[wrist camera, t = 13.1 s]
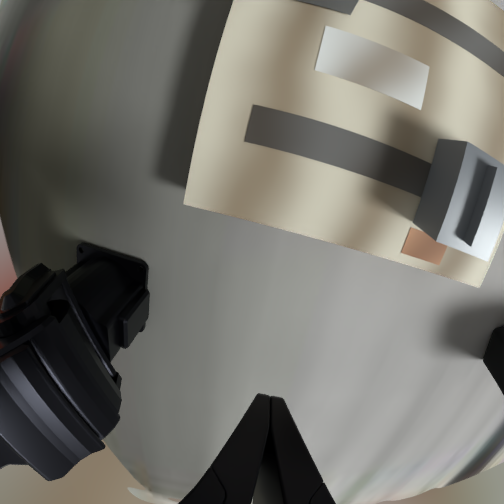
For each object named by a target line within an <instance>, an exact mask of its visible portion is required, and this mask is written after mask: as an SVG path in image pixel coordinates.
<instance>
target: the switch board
mask: <svg viewBox="0 0 504 504" xmlns="http://www.w3.org/2000/svg"><path fill="white" fill-rule="evenodd" d="M438 139H449V140H459V141H468V142H469V143H471V144H473V145H474V146H476V147H478V148H479V149H481V150H482V151H484V152H486V153H487V154H489V155H490V156H492V157H493V158H495V159H496V160H498V161H499V162H501V163H502V164H504V11H503V10H502V9H501V8H499V7H498V6H497V5H495V4H494V3H493V2H491V1H490V0H359V1H358V3H357V4H356V6H355V8H354V10H353V11H352V13H351V15H348V14H345V13H342V12H339V11H336V10H332V9H329V8H325V7H321V6H318V5H314V4H310V3H306V2H301V1H297V0H233V3H232V6H231V10H230V13H229V16H228V19H227V22H226V25H225V28H224V32H223V35H222V38H221V42H220V45H219V49H218V52H217V56H216V59H215V63H214V67H213V70H212V74H211V78H210V82H209V86H208V89H207V93H206V98H205V102H204V106H203V110H202V114H201V119H200V123H199V127H198V132H197V136H196V141H195V146H194V151H193V156H192V160H191V166H190V171H189V176H188V181H187V187H186V192H185V198H184V205H189V206H193V207H197V208H201V209H205V210H209V211H213V212H217V213H221V214H225V215H229V216H233V217H237V218H241V219H245V220H248V221H252V222H256V223H260V224H264V225H268V226H271V227H275V228H279V229H283V230H286V231H290V232H294V233H298V234H301V235H305V236H309V237H312V238H316V239H319V240H323V241H327V242H330V243H334V244H337V245H341V246H344V247H348V248H351V249H355V250H358V251H362V252H365V253H368V254H372V255H375V256H379V257H382V258H385V259H389V260H392V261H395V262H399V263H402V264H405V265H409V266H412V267H415V268H418V269H422V270H425V271H428V272H431V273H434V274H438V275H441V276H444V277H447V278H450V279H453V280H456V281H459V282H463V283H466V284H469V285H472V286H475V287H478V288H480V286H481V284H482V282H483V279H484V277H485V275H486V273H487V271H488V269H489V266H490V264H491V262H492V260H493V257H494V255H495V253H496V250H497V248H498V245H499V243H500V240H501V237H502V235H503V232H504V222H503V225H502V228H501V230H500V233H499V236H498V238H497V241H496V244H495V246H494V249H493V251H492V253H491V256H490V258H489V260H488V262H487V261H484V260H482V259H480V258H477V257H475V256H472V255H470V254H467V253H465V252H462V251H460V250H457V249H455V248H452V247H449V246H447V245H444V244H442V243H439V242H436V241H435V240H434V239H432V238H431V237H430V236H429V235H427V234H426V233H425V232H424V231H422V230H421V229H420V228H419V227H417V226H416V225H415V224H413V223H412V222H413V220H414V217H415V214H416V211H417V208H418V206H419V203H420V200H421V197H422V194H423V191H424V187H425V184H426V181H427V178H428V175H429V171H430V168H431V164H432V161H433V157H434V154H435V150H436V146H437V142H438Z"/></svg>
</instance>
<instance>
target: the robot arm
mask: <svg viewBox="0 0 504 504" xmlns="http://www.w3.org/2000/svg"><path fill="white" fill-rule="evenodd" d="M82 248H83V250H84V251H83V250H82ZM140 266H141V267H142V268H143V270H141V269H140ZM148 270H149V268H148V265H147V264H146V263H145V262H144V261H141V260H137V259H134V258H131V257H127V256H124V255H121V254H118V253H114V252H111V251H108V250H105V249H102V248H99V247H95V246H92V245H89V244H86V243H80V244H79V245H78V246H77V264H76V265H74V266H73V267H72V268H70V269H69V270H68V271H66V272H65V270H64V269H61V270H57V271H51V269H48V268H47V267H46V266H45V265H43V264H42V263H40V264H37V265H35V266H34V267H32V268H31V269H29V270H28V271H26V272H25V273H24V274H22V275H21V276H20V277H19V278H18V279H17V280H16V281H15V282H14V283H13V285H12V286H11V287H10V289H9V290H7V291H6V292H4V293H3V295H2V297H1V298H0V469H2V468H3V467H5V466H7V465H10V464H12V465H29V466H30V467H32V468H33V469H34V470H35V471H36V472H38V473H39V474H40V475H41V476H42V477H43V478H45V479H46V480H47V481H52V480H55V479H59V478H62V477H63V476H65V475H66V474H67V473H68V472H69V471H70V470H71V469H72V468H73V467H74V465H76V464H77V463H78V462H79V461H80V460H82V459H83V458H85V457H87V456H88V455H90V454H92V453H94V452H97V451H100V450H102V449H104V448H105V445H104V443H103V442H102V441H101V440H102V439H104V438H105V437H106V436H107V435H108V434H109V433H110V432H111V431H112V430H113V429H114V428H115V426H116V425H117V423H118V422H119V420H120V415H119V414H118V413H119V409H120V405H121V401H122V399H121V392H120V386H121V380H122V378H121V376H120V375H119V373H118V372H116V371H115V369H114V368H113V366H112V364H111V363H110V362H111V361H112V359H113V358H114V357H115V355H116V354H117V352H118V351H119V349H120V348H121V347H122V348H124V349H126V348H128V347H129V346H130V344H131V343H132V341H133V340H134V338H135V337H136V335H137V334H138V332H142V331H143V330H144V329H145V322H146V320H147V319H148V315H149V297H150V293H149V291H148V289H147V284H148ZM252 498H253V504H336V503H335V501H334V500H333V498H332V496H331V494H330V492H329V491H328V489H327V487H326V485H325V483H323V479H322V477H321V475H320V473H319V471H318V469H317V467H316V465H315V463H314V461H313V459H312V457H311V455H310V453H309V451H308V449H307V447H306V445H305V443H304V441H303V439H302V436H301V434H300V432H299V430H298V428H297V426H296V424H295V422H294V420H293V418H292V416H291V414H290V411H289V409H288V407H287V405H286V403H285V401H284V399H283V398H281V397H276V396H271V397H270V396H269V395H265V394H260V393H258V394H257V395H256V397H255V398H254V400H253V402H252V403H251V405H250V406H249V408H248V410H247V411H246V413H245V414H244V416H243V418H242V419H241V421H240V422H239V424H238V425H237V427H236V429H235V430H234V432H233V433H232V435H231V436H230V438H229V439H228V441H227V442H226V444H225V445H224V447H223V448H222V450H221V451H220V453H219V454H218V456H217V457H216V459H215V460H214V461H213V463H212V464H211V466H210V468H208V470H207V471H206V473H205V474H204V476H203V477H202V478H201V479H200V481H199V482H198V483H197V484H196V486H195V487H194V488H193V489H192V490H191V491H190V492H189V493H188V494H187V495H186V496H185V497H184V499H182V500H181V501H180V502H179V503H178V504H251V502H252Z"/></svg>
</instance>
